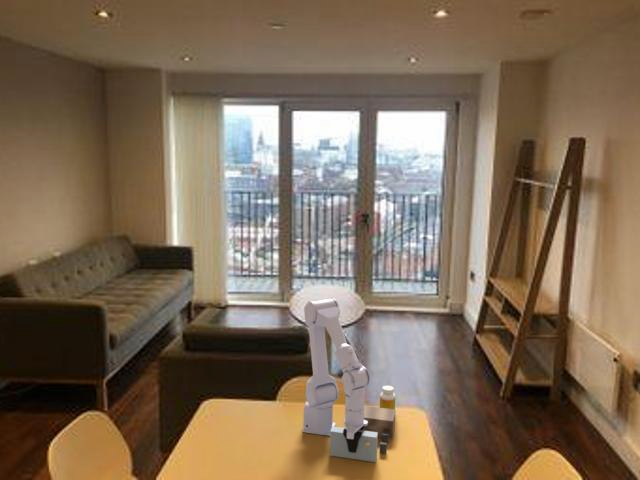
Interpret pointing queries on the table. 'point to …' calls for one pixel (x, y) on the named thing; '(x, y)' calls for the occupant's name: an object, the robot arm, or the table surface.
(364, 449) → the door panel
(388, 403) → the supplement bottle
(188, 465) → the table surface
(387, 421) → the cabinet
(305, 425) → the robot arm
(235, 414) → the table surface
